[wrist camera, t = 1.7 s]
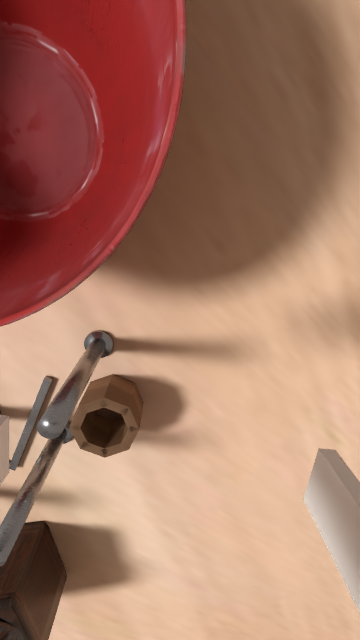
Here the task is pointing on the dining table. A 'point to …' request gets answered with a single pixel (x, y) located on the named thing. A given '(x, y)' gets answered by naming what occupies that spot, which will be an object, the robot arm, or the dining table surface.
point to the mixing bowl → (80, 135)
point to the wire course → (49, 435)
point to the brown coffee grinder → (31, 585)
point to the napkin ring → (100, 430)
